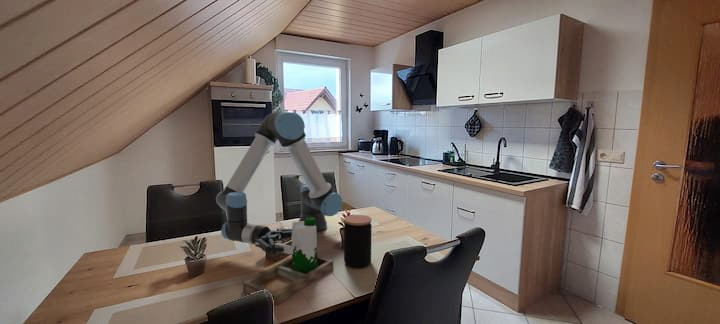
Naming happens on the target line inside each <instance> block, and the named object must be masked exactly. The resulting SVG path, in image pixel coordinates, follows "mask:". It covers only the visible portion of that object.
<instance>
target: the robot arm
mask: <svg viewBox="0 0 720 324" xmlns="http://www.w3.org/2000/svg"><path fill="white" fill-rule="evenodd" d="M305 128H306V125H305V121H304V119H303V118H302V116H301V115H299V114H298V113H297V112H294V111H291V110H283V111H273V112H271V113H269V114H267V115H266V116H265V117H264V119H263V120H262V121H261V123H260V124H259V127H258V128H257V130H256V132H255V133H254V136H255V137H254V140H253V141H252V143H251V144H250V146H249V148H248V149H247V151H246V153H245V155H244V157H242V159H241V161H240V163H239V164H238V166H237V168H236V169H235V171H234V173H233V175H231V178H230V179H229V180H228V182H227V185H226V186H225V187H224V190H222V191H219V193H218V194H217V195H216V197H215V201H216V204H217V205H218V207H219V208H220V209H222V210H223V211H225V213H226V222H224V223H223V224H222V227H221V230H220V233H221V236H222V237H223V238H224V239H225V240H229V241H231V242H240V243H244V244H245V243H246V244H250V245H255V247H256V248H257V247H258V248H259V249H261V250H262V251H264V252H265V253H266V254H268V255H269V254H272V255H275V254H276V253H277V252H278V253H283V254H287V255H292V254H293V246H292V245H289V244H284V243H278V242H277V241H282V240H284V239H292V228H280V227H279V228H278V227H277V228H276V230H271V229H270V227H269V226H267V225H262V224H261V225H260V224H255V223H249V222H248V200H247V194H246V193H245V192H244V191H245V190H246V188H247V187H248V185H249V184H250V182H251V180H252V178H253V176H254V174H256V172H257V171H258V168H259V166H260V164H261V163H262V161H263V160H264V158H265V156H266V155H267V154H268V152H269V150H270V148H271V146H274V145H275V144H276V142H277V141H278V142H279V144H280V145H281V147H282V148H284V149H287V151H288V153H289V155H290V157H291V160H292V161H293V163H294V164H295V165H296V168H297V169H298V171H299V174H300V176H301V178H302V179H303V181H304V183H305V185H302V186H301V187H300V193H299V194H300V216H299V219H298V222H300V221H304V218H306V217H315V223H316V232H322V231H324V230H326V229H327V227H328V223H327V220H326V217H334V216H335V215H337V214H338V213H339V212H340V210H341V208H342V205H343V198H342V196H341V195H340V193H338V192H335V190H334V188H333V186H332V184H331V183H330V182H327V181H326V180H325V178H324V176H323V174H322V173H323V172H322V171H321V170H320V168H319V166H318V163H317V162H316V160H315V158H314V156H313V153H312V152H311V150H310V148H309V146H308V144H307V142H306V136H307V135H306V132H305ZM276 242H277V243H276Z"/></svg>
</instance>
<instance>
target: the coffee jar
mask: <svg viewBox="0 0 720 324" xmlns="http://www.w3.org/2000/svg"><path fill="white" fill-rule="evenodd" d="M343 221H344V225H343V261H344V263H345V264H346V266H348V267H349V268H350V269H364V268H366V267H369V265H370V264H371V262H372V224H371V223H372V218H371V217H370V216H368V215H364V214H351V215H348V216H345V217H344V219H343Z"/></svg>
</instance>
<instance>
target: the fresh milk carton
mask: <svg viewBox="0 0 720 324" xmlns="http://www.w3.org/2000/svg"><path fill="white" fill-rule="evenodd" d="M291 229H292V238H291V246H293V254H291V258H292V261H293V266H294V267H293V270H295V271H298V272H301V273H303V274H307V273H309V272H311V271H312V270H314V269H315V268H317V265H316V264H317V256H318V252H317V251H318V235H317V232H316V223H315V217H306V218H304V221H300V222H299V221H293V222H292V228H291Z"/></svg>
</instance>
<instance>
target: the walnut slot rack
mask: <svg viewBox="0 0 720 324" xmlns="http://www.w3.org/2000/svg"><path fill="white" fill-rule="evenodd" d="M292 268H294V266H293V261H292V257H290V258H288V259H286V260H284V261H282V262H280V263H278V264H276V265H275V266H272V267H271V268H269V269H266V270H265V271H262V272H261V273H259V274H257V275H255V276H253V277H251V278H248V279H247V280H245V281H243V282H242V291H243V293H246V294H249V295H251V293H254V292H257V291H260V290H264V289H266V290H268V291H269V292H270V293H271V294H272V297H273V300H274V305H273V306H275V305H277V306H278V305H279V304H281V303H282V302H284V301H286V300H287V299H288V298H290V297H292V296H293V295H295V294H297V292H299V291H301V290H303V289H304V288H306V287H307V286H308V285H310V284H311V283H313V282H315V281H317V279H318V278H321V277H322V276H323V275H325V274H327V273H328V272H330V271H331V270H332V269H334V260H333V259H329V258H326V257H323V256H319V255H317V264H316V268H315V269H314V270H312V271H311V272H309V273H307V274H303V273H301V272H298V271H295V270H294V269H292ZM277 276H280V277H282V278H284V279H287V280H289V281H292V282H291V283H290V284H288V285H286V286H283V288H281V289H280V290H278V291H277V292H275V291H273V290H271V289H268V288H266V287H263V286H261V285H263V284H264V283H267V282H268V281H270V280H272V279H274V278H275V277H277Z"/></svg>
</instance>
